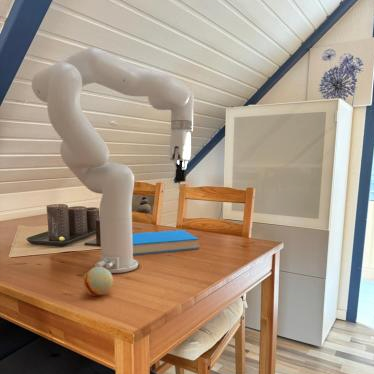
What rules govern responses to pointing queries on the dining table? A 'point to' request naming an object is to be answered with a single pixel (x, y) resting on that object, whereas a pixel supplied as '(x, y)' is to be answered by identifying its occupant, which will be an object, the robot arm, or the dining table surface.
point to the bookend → (97, 240)
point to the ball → (98, 281)
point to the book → (163, 242)
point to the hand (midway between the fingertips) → (180, 181)
